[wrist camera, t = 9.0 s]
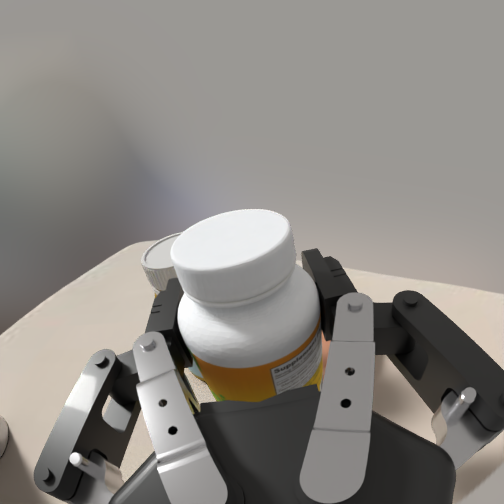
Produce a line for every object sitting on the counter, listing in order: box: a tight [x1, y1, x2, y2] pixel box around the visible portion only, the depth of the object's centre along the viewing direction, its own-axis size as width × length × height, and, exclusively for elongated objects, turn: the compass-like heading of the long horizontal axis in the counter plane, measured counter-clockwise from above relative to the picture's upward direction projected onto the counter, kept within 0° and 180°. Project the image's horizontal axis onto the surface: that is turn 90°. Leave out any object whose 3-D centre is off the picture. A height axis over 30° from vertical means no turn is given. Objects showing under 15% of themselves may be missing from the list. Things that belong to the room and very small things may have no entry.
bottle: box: [141, 232, 205, 381], centre depth 27 cm, size 7×7×15 cm
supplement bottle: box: [170, 209, 323, 402], centre depth 12 cm, size 5×5×10 cm
